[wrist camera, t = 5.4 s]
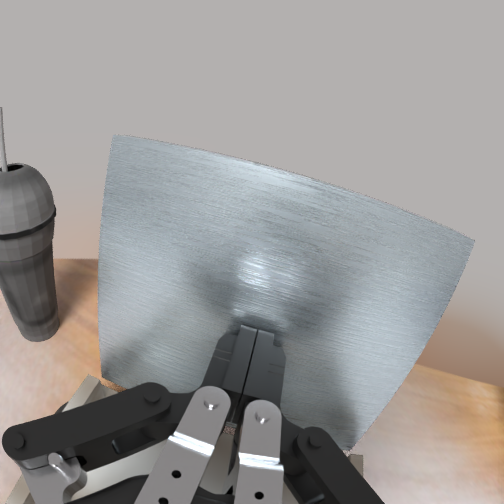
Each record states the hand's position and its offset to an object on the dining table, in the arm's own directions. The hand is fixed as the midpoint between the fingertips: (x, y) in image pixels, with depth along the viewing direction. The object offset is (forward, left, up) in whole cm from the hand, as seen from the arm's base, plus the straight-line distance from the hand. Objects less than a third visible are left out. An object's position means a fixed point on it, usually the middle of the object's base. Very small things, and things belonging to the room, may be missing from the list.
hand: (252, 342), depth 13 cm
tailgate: (+1, +1, -7) cm, 7 cm away
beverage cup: (+13, -15, -12) cm, 23 cm away
